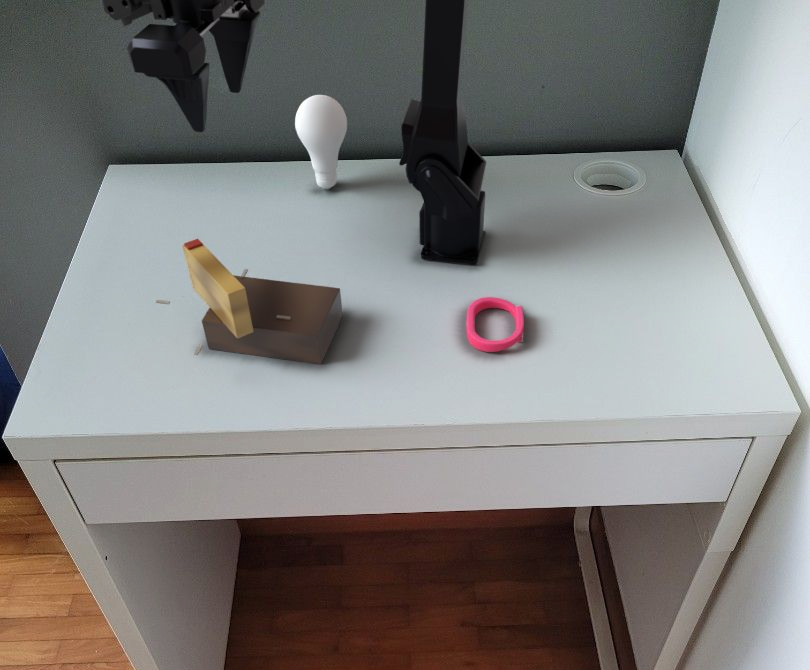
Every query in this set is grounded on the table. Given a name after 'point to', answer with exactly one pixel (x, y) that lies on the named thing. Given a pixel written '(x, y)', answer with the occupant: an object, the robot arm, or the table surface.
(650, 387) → the table surface
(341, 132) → the lightbulb
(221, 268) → the tap handle
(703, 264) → the table surface
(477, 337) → the fitness band
